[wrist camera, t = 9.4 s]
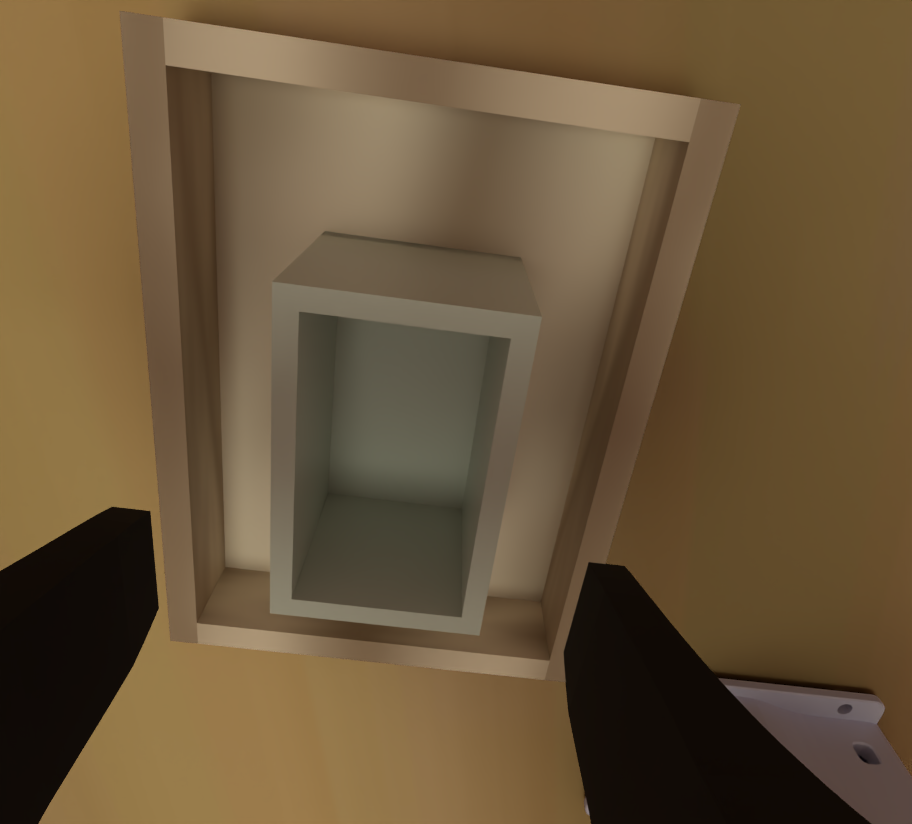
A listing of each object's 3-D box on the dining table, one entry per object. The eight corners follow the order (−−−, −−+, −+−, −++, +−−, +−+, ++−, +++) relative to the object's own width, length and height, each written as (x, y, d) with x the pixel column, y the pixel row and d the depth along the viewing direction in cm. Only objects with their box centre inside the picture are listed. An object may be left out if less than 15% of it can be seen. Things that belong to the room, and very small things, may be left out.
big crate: (692, 103, 15) (740, 104, 13) (557, 612, 22) (570, 682, 20) (182, 26, 15) (119, 10, 12) (207, 573, 22) (170, 640, 19)
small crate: (520, 257, 17) (541, 316, 12) (475, 514, 20) (479, 635, 16) (325, 231, 16) (272, 281, 12) (314, 496, 20) (270, 613, 15)
